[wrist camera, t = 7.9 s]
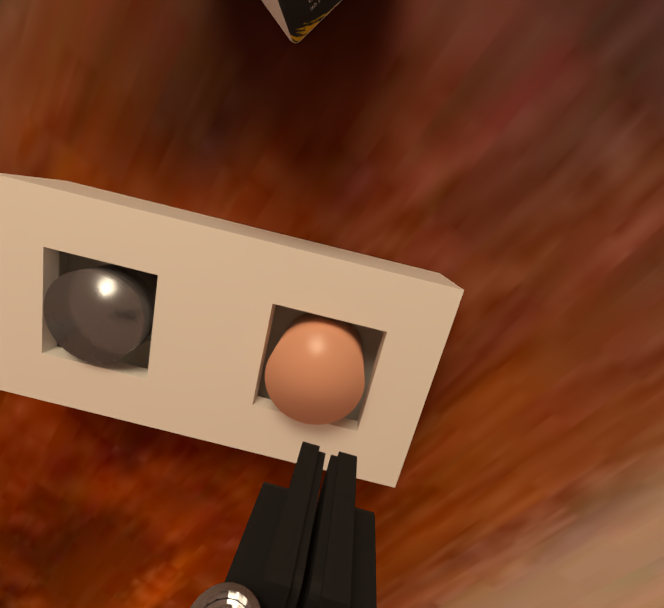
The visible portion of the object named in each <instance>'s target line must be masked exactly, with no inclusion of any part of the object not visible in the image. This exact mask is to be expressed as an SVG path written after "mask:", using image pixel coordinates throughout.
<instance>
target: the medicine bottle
mask: <svg viewBox="0 0 664 608" xmlns="http://www.w3.org/2000/svg"><path fill="white" fill-rule="evenodd" d="M261 1H262V2H263V3H264V5H265V6H266V8H267V9H268V10H269V12H270V13H271V14H272V16H273V17H274V19H275V20H276V21H277V23H278V24H279V26H280V27H281V28H282V30H283V31H284V33H285V34H286V35H287V37H288V38H289V40H290V41H292V42H293V43H298V42H300V41H301V40H302V39H303V38H304V37H305V36H306V35H307V34H308V33H309V32H310V31H311V30H312V29H313V28H314V27H315V26H316V25H317V24H318V23H319V22H320V21H321V20H323V19H324V18H325V17H326V16H327V15H328V14H329V13H330V12H331V11H332V10H333V9H334V8H335V7H336V6H337V5H338V4H339V3H340V2H341V1H342V0H261Z"/></svg>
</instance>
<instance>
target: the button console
mask: <svg viewBox="0 0 664 608" xmlns="http://www.w3.org/2000/svg"><path fill="white" fill-rule="evenodd" d="M107 264H115V265H119V266H123V267H127V268H131V269H135V270H139V271H143V272H147V273H151V274H155V275H158V279H157V289H156V298H155V308H154V317H153V327H152V336H151V339H150V340H149V341H147V342H145V343H144V344H142V345H141V346H139V347H137V348H136V349H134V350H132V351H131V352H129V353H128V354H126V355H124V356H123V357H121V358H119V359H117V360H115V361H112V362H108V363H92V362H87V361H84V360H81V359H79V358H77V357H75V356H73V355H71V354H70V353H68V352H67V351H66V350H65V349H63V348H62V347H61V346H60V345H59V344H58V343H57V341H56V340H55V339H54V337H53V336H52V334H51V333H50V331H49V329H48V327H47V324H46V321H45V317H44V299H45V295H46V292H47V290H48V288H49V287H50V285H51V284H52V283H53V282H54V281H55V280H56V279H57V278H58V277H60V276H62V275H63V274H66V273H68V272H72V271H77V270H82V269H87V268H92V267H97V266H102V265H107ZM463 292H464V290H463V289H462V288H460V287H459V286H457V285H456V284H454V283H453V282H451V281H450V280H449V279H447V278H446V277H444V276H443V275H441V274H440V273H437V272H433V271H429V270H425V269H421V268H417V267H413V266H408V265H404V264H400V263H396V262H392V261H388V260H384V259H380V258H376V257H372V256H368V255H364V254H360V253H356V252H352V251H348V250H344V249H340V248H336V247H332V246H328V245H324V244H320V243H316V242H312V241H308V240H304V239H299V238H295V237H291V236H287V235H283V234H279V233H275V232H271V231H267V230H263V229H259V228H255V227H251V226H247V225H243V224H239V223H235V222H231V221H227V220H223V219H219V218H215V217H211V216H207V215H203V214H199V213H195V212H190V211H186V210H182V209H178V208H174V207H170V206H166V205H162V204H158V203H154V202H150V201H146V200H142V199H138V198H134V197H130V196H126V195H122V194H118V193H114V192H110V191H106V190H102V189H98V188H94V187H90V186H86V185H82V184H77V183H73V182H69V181H63V180H55V179H46V178H37V177H29V176H20V175H11V174H3V173H0V390H3V391H7V392H11V393H15V394H19V395H23V396H27V397H31V398H35V399H39V400H43V401H47V402H51V403H55V404H59V405H63V406H68V407H72V408H76V409H80V410H84V411H88V412H92V413H96V414H100V415H104V416H108V417H112V418H116V419H120V420H124V421H128V422H132V423H136V424H140V425H144V426H148V427H152V428H156V429H160V430H164V431H168V432H172V433H176V434H180V435H185V436H189V437H193V438H197V439H201V440H205V441H209V442H213V443H217V444H221V445H225V446H229V447H233V448H237V449H241V450H245V451H249V452H253V453H257V454H261V455H265V456H269V457H273V458H277V459H281V460H285V461H289V462H293V463H296V462H297V459H298V456H299V452H300V449H301V445H302V442H303V441H304V442H307V443H311V444H315V445H318V446H320V449H319V451H320V452H324V453H326V454H325V460H324V466H323V470H327V467H328V463H329V460H330V456H331V455H335V456H338V453H339V451H340V452H344V453H347V454H351V455H355V456H357V473H356V478H358V479H362V480H366V481H370V482H374V483H378V484H382V485H386V486H390V487H394V488H395V486H396V483H397V480H398V477H399V475H400V472H401V469H402V466H403V463H404V460H405V457H406V455H407V452H408V449H409V446H410V443H411V440H412V437H413V435H414V432H415V429H416V426H417V423H418V420H419V417H420V415H421V412H422V409H423V406H424V403H425V400H426V397H427V395H428V392H429V389H430V386H431V383H432V380H433V377H434V375H435V372H436V369H437V366H438V363H439V360H440V357H441V355H442V352H443V349H444V346H445V343H446V340H447V337H448V335H449V332H450V329H451V326H452V323H453V320H454V317H455V315H456V312H457V309H458V306H459V303H460V300H461V297H462V295H463ZM308 312H309V313H313V314H317V315H321V316H325V317H329V318H333V319H337V320H341V321H345V322H349V323H352V324H353V325H354V327H355V328H356V329H357V331H358V333H359V335H360V338H361V341H362V346H363V361H364V377H365V384H364V391H363V394H362V397H361V399H360V401H359V403H358V404H357V406H356V407H355V408H354V409H353V410H352V411H351V412H350V413H349V414H348V415H346V416H345V417H343V418H342V419H340V420H338V421H335V422H332V423H328V424H322V425H313V424H306V423H302V422H298V421H296V420H294V419H292V418H290V417H288V416H286V415H285V414H284V413H282V412H281V411H280V410H279V409H278V408H277V407H276V406H275V404H274V403H273V402H272V400H271V398H270V396H269V394H268V392H267V389H266V385H265V369H266V365H267V362H268V360H269V357H270V356H271V354H272V352H273V351H274V349H275V347H276V346H277V344H278V342H279V341H280V339H281V337H282V335H283V334H284V332H285V330H286V329H287V327H288V326H289V325H290V323H291V322H292V321H294V320H295V319H296V318H297V317H299V316H301V315H303V314H305V313H308Z"/></svg>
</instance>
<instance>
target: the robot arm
mask: <svg viewBox="0 0 664 608" xmlns="http://www.w3.org/2000/svg"><path fill="white" fill-rule="evenodd" d="M319 449H320V446H318V445H315V444H311V443H307V442H304V441H303V442H302V445H301V449H300V452H299V456H298V459H297V462H296V466H295V469H294V473H293V476H292V480H291V483H290V487H289V489H288V488H285V487H281V486H277V485H274V484H270V483H267V482H264V483H263V485H262V488H261V490H260V493H259V495H258V498H257V500H256V503H255V506H254V508H253V511H252V513H251V516H250V518H249V521H248V523H247V526H246V529H245V531H244V534H243V536H242V539H241V541H240V544H239V547H238V549H237V552H236V554H235V557H234V559H233V562H232V565H231V567H230V570H229V572H228V575H227V577H226V580H225V582H224V583H220V584H217V585H215V586H212V587H210V588H209V589H207V590H206V591H205V592H203V593H202V594H201V595H200V596H199V597H198V598H197V600H196V601H195V602H194V603H193V605H192V606H191V608H377V606H376V552H375V515H374V512H370V511H366V510H363V509H359V508H356V507H355V493H356V473H357V456H355V455H351V454H347V453H344V452H340V451H339V453H338V456H335V455H331V456H330V460H329V463H328V467H327V470H326V474H325V477H324V481H323V484H322V488H321V491H320V495H319V498H318V493H319V488H320V482H321V477H322V471H323V466H324V460H325V454H326V453H324V452H320V451H319ZM317 499H318V502H317ZM316 504H317V505H316Z"/></svg>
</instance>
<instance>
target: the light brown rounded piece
mask: <svg viewBox="0 0 664 608" xmlns="http://www.w3.org/2000/svg"><path fill="white" fill-rule="evenodd" d="M364 384H365V377H364V361H363V346H362V341H361V338H360V335H359V333H358V331H357V329H356V328H355V327H354V325H353V324H352V323H349V322H345V321H341V320H337V319H333V318H329V317H325V316H321V315H317V314H313V313H309V312H308V313H305V314H303V315H301V316H299V317H297V318H296V319H295V320H294V321H292V322H291V323H290V325H289V326H288V327H287V329H286V330H285V332H284V334H283V335H282V337H281V339H280V341H279V342H278V344H277V346H276V347H275V349H274V351H273V352H272V354H271V356H270V357H269V360H268V362H267V365H266V369H265V385H266V389H267V392H268V394H269V396H270V398H271V400H272V402H273V403H274V404H275V406H276V407H277V408H278V409H279V410H280V411H281V412H282V413H284V414H285V415H286V416H288V417H290V418H292V419H294V420H296V421H298V422H302V423H306V424H313V425H322V424H328V423H332V422H335V421H338V420H340V419H342V418H343V417H345V416H346V415H348V414H349V413H350V412H351V411H352V410H353V409H354V408H355V407H356V406H357V404H358V403H359V401H360V399H361V397H362V394H363V391H364Z"/></svg>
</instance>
